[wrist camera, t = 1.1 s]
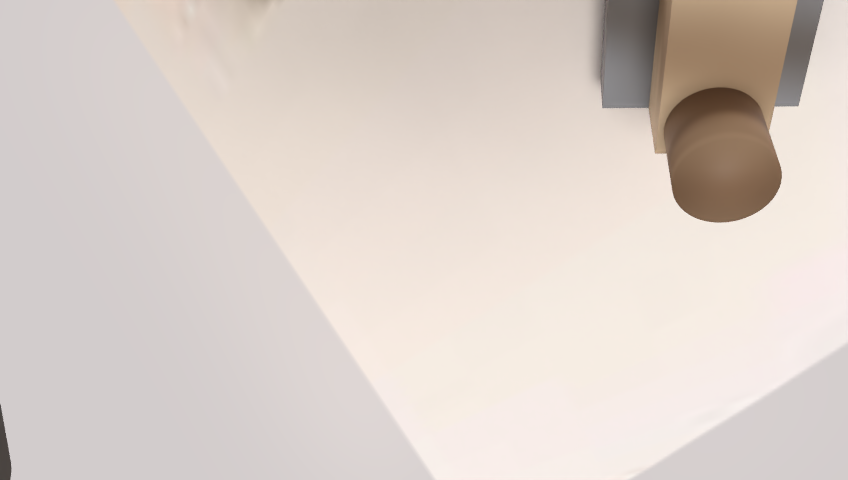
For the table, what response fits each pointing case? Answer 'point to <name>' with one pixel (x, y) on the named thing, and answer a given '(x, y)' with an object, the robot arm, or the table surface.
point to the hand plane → (710, 90)
